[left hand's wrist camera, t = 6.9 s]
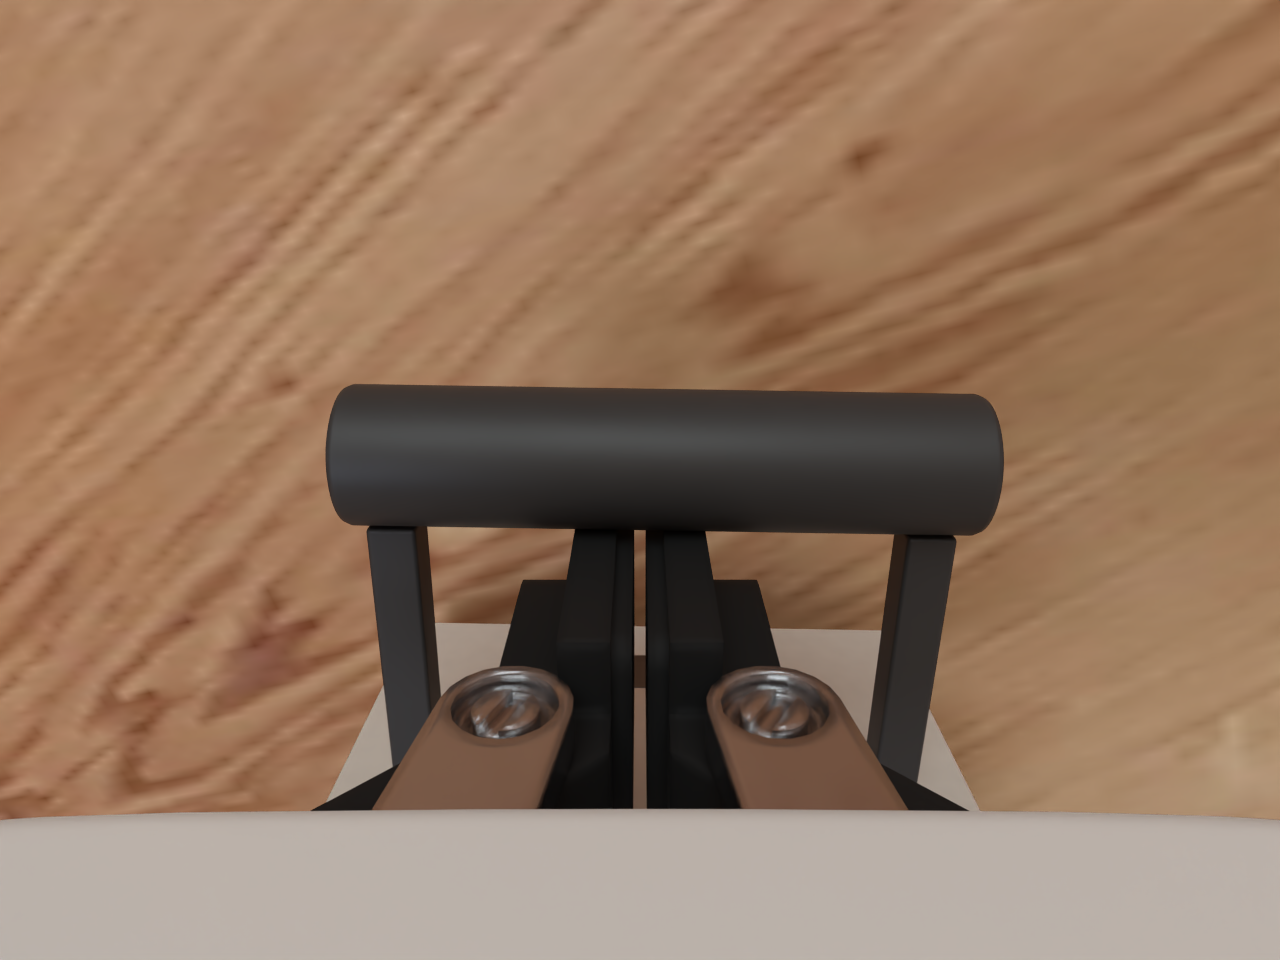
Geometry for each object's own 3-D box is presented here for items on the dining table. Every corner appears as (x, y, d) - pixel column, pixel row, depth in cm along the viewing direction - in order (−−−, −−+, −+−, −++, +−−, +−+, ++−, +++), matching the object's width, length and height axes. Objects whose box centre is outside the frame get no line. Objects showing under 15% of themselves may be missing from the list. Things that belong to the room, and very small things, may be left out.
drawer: (384, 306, 15) (158, 443, 8) (934, 314, 15) (1179, 460, 8) (456, 1085, 22) (370, 1508, 15) (827, 1092, 22) (907, 1519, 15)
